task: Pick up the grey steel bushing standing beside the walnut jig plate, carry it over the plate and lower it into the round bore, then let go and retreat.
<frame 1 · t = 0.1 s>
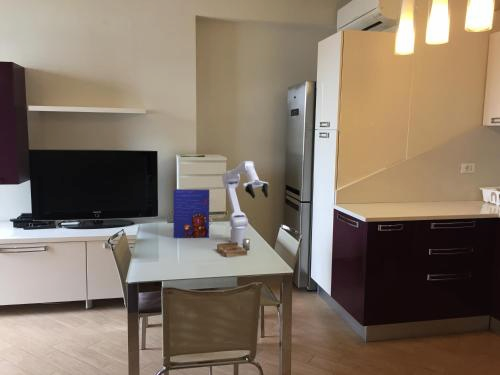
hand: (260, 196, 235), 32 cm above the table, tool tilted 50°, fingers open, 7 cm apart
cereal box: (191, 237, 275), on the table
teacup with lid: (203, 229, 296), on the table
jig: (231, 252, 242), on the table
bushing: (246, 249, 249), on the table
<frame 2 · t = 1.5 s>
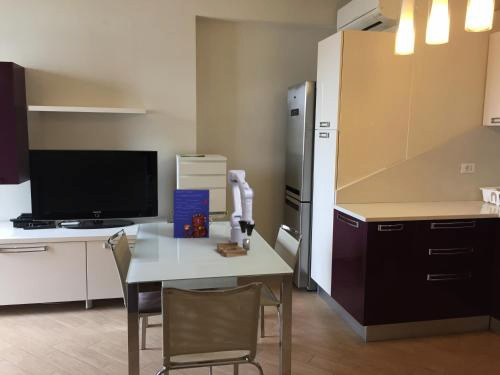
hand: (246, 234, 247), 9 cm above the table, tool pointing down, fingers open, 7 cm apart
nothing on the table moved.
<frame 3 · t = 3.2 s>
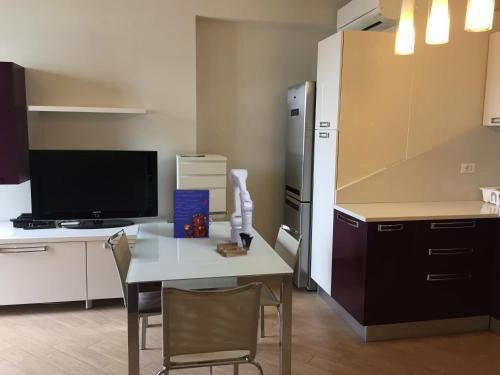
hand: (246, 246, 248), 2 cm above the table, tool pointing down, fingers closed on bushing, 4 cm apart
bushing: (246, 249, 249), on the table, touching gripper
everything else where it was.
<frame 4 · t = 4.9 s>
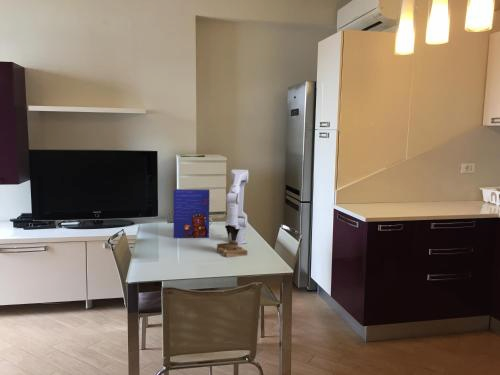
hand: (232, 239, 241), 8 cm above the table, tool pointing down, fingers closed on bushing, 4 cm apart
bushing: (232, 243, 241), point 5 cm above the table, touching gripper
everything else where it was.
when the fingers open (3 cm above the table, at t = 6.8 s): bushing stays where it is, resting in jig.
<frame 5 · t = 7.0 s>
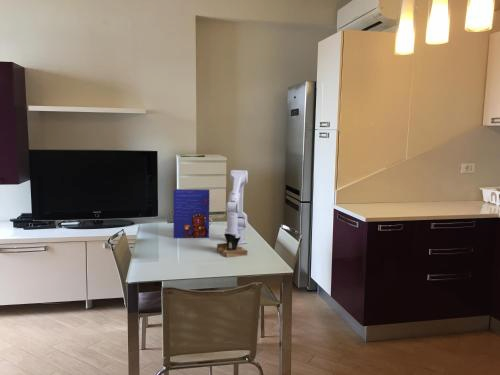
hand: (231, 247, 241), 3 cm above the table, tool pointing down, fingers open, 6 cm apart
bushing: (232, 252, 242), resting in jig
everything else where it was.
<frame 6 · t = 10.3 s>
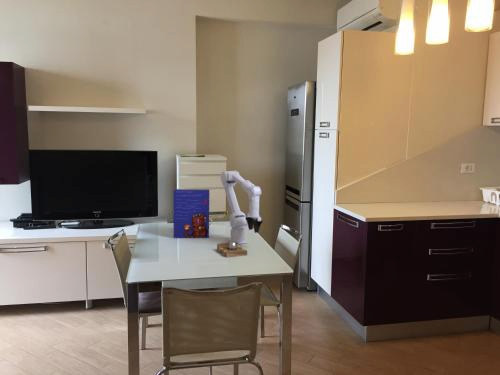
hand: (253, 231, 252), 10 cm above the table, tool pointing down, fingers open, 7 cm apart
nothing on the table moved.
at the end: bushing 0.3 cm off-centre on the jig, point 0.0 cm above the jig's base; bushing tilted 0°; the gripper is holding nothing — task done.
